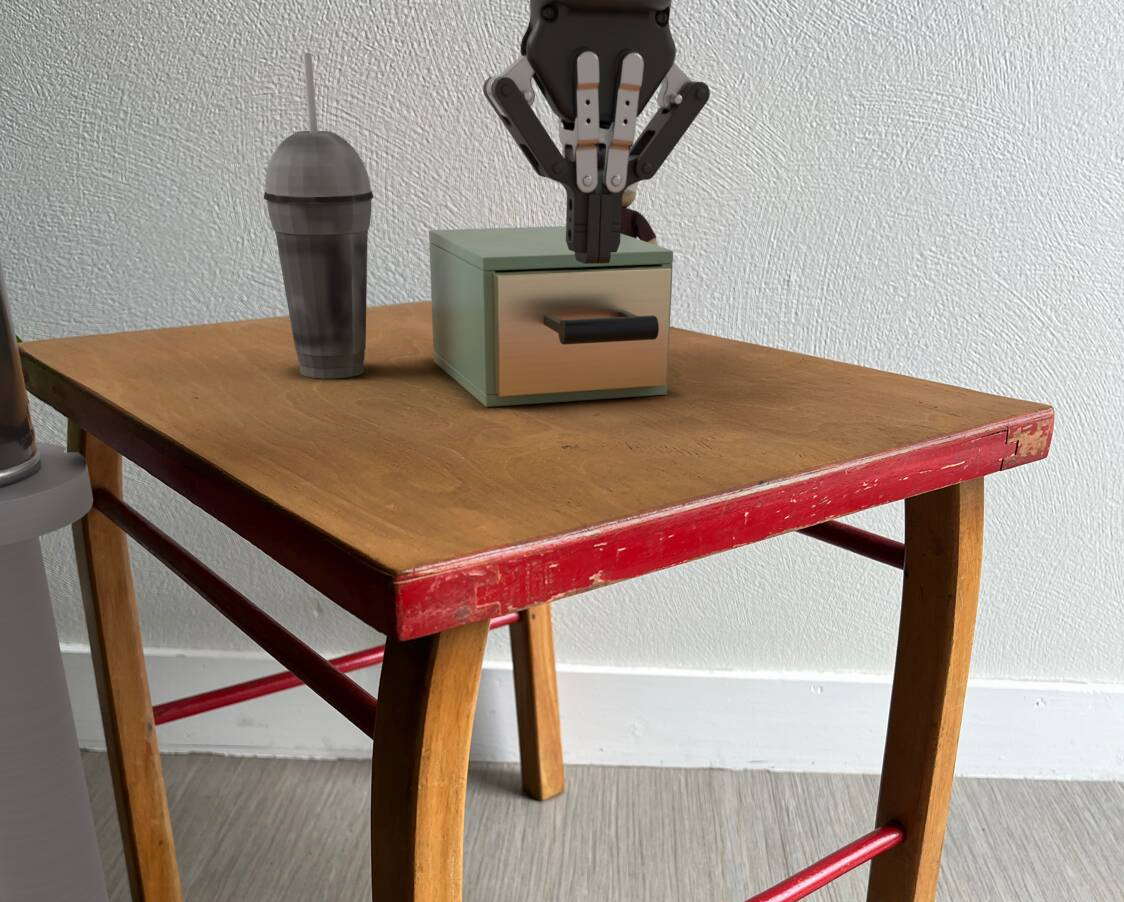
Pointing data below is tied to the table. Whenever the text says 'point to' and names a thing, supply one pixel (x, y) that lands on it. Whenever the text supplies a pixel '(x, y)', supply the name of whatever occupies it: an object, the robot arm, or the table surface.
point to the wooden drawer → (580, 328)
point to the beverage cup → (322, 243)
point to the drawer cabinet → (468, 300)
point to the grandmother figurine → (635, 219)
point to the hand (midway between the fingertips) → (591, 261)
